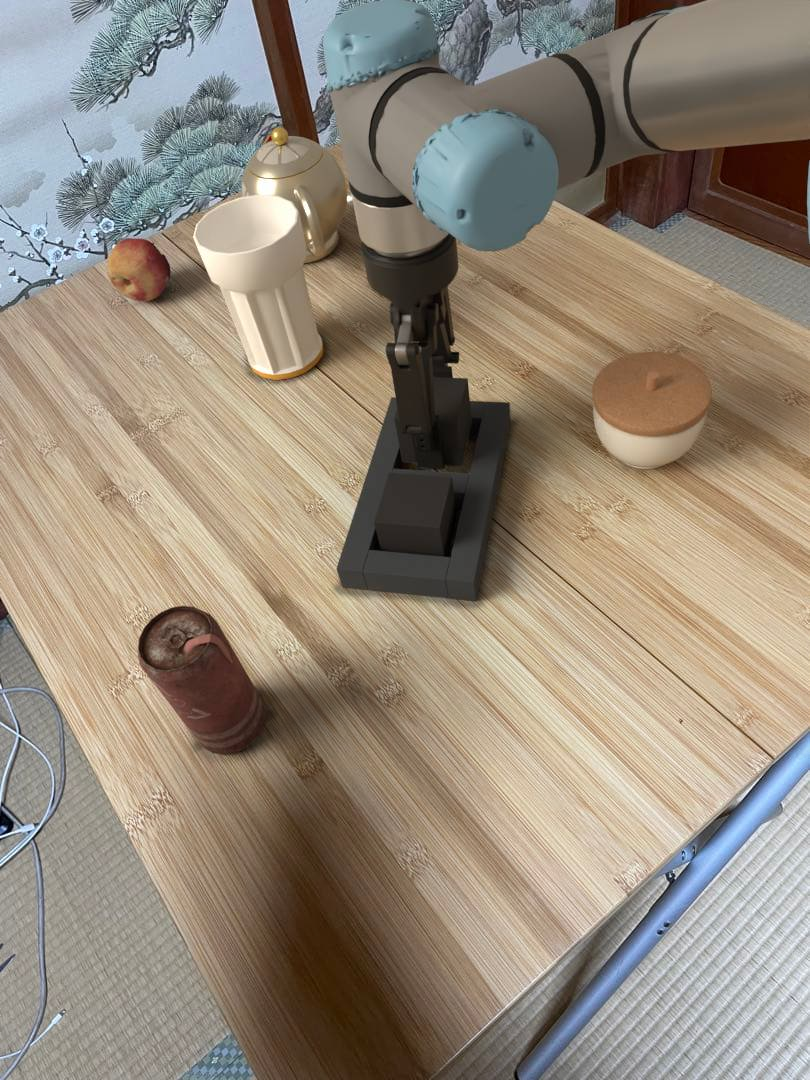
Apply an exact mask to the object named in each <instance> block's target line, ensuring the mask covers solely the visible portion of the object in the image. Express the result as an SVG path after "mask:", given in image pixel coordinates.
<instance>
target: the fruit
mask: <svg viewBox="0 0 810 1080" xmlns="http://www.w3.org/2000/svg"><path fill="white" fill-rule="evenodd" d="M106 275H107V277H108V279H109V281H110V283H111V285H112V286H113V287H114V288H115V289H116V291H118V292H119V293H120V294H121V295H123V296H124V297H126V298H127V299H130V300H132V301H135V302H149V301H153V300H155V299H156V298H158V297H159V296H161V295H162V294H163V292H164V289H166V286H167V283H168V282H169V281H170V279H171V276H172V274H171V265H170V263H169V260H168V258H167V257H166V256H165V254H162V252H161V251H160V250H159V249H158V248H157V246H156V245H155V242H152V241H150V240H147V239H146V238H132V237H131V238H124V239H122V240H120V241H118V242H117V243H116V244H115V246H114V247H113V248H112V250H111V251H110V253H109V255H108V258H107V264H106Z"/></svg>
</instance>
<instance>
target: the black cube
mask: <svg viewBox="0 0 810 1080" xmlns="http://www.w3.org/2000/svg"><path fill="white" fill-rule="evenodd" d="M433 384H434V405H435V415H439V420H440V428H441V435H442V443H443V450H444V457H445V466H448V467H449V466H450V467H451V466H452V467H463V464H464V459H465V455H466V451H467V447H468V444H469V443H468V442H469V439H470V438H469V434H470V430H471V425H472V418H471V408H470V401H471V399H470V387H469V379H468V378H467V377H453V378H446V377H433ZM398 420H399V414H398V408H397V410H396V414H395V417H394V421H395V426H396V432H397V437H398V442H399V447H400V452H401V457H402V462H404V463H405V464H416V459H415V453H414V448H413V442H412V437H411V434H402V432H401V429H400V424H399V423H398Z"/></svg>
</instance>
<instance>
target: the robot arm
mask: <svg viewBox="0 0 810 1080" xmlns="http://www.w3.org/2000/svg"><path fill="white" fill-rule="evenodd" d="M322 48H323V55H324V56H323V57H324V64H325V71H326V79H327V84H326V89H327V92H329V95H330V99H331V104H332V109H333V113H334V118H335V124H336V128H337V133H338V138H339V143H340V148H341V153H342V157H343V163H344V167H345V171H346V176H347V182H348V187H349V191H350V192H347V199H346V200H347V205H348V206H353V209H354V214H355V220H356V225H357V229H358V236H359V239H360V240H361V243H360V249H361V254H362V259H363V264H364V265H363V266H364V269H365V274H366V279H367V282H368V285H369V286H370V288H372V290H373V291H374V292H375V293H377V294H378V295H379V296H382V297H383V298H385V299H387V301H390V304H389V322H390V324H391V325H392V327H393V335H394V337H393V338H394V342H387V343H386V346H385V349H384V350H385V351H384V352H385V355H386V358H387V361H388V364H389V367H390V370H391V371H390V372H391V378H392V383H393V389H394V396H395V397H396V402H397V408H398V414H399V420H398V423H399V424H400V429H401V432H402V434H411V437H412V442H413V448H414V453H415V459H416V463H415V464H416V468H417V469H418V468H419V469H430V470H445V468H446V465H445V457H444V450H443V443H442V435H441V428H440V420H439V415H435V405H434V384H433V377H446V378H454V374H453V367H452V366H451V365H449V364H455V365H456V364H457V365H458V364H459V363H460V352H459V351H452V349H451V347H453V346H454V344H455V343H456V336H455V332H454V323H453V317H452V309H451V301H450V294H449V285H450V284H451V283H452V282H453V281H454V279H455V278H456V277H457V274H458V271H459V256H458V246H457V241H459V242H460V243H461V244H463V245H464V246H466V247H468V248H470V249H473V250H475V251H478V252H499V251H503V250H507V249H509V248H512V247H514V246H516V245H518V244H520V243H521V242H522V241H524V240H525V239H526V238H527V235H528V234H529V233H530V232H531V230H532V229H533V228H534V227H536V226H537V225H539V226H540V225H541V224H542V222H543V221H544V220H545V218H546V217H547V215H548V214H549V212H550V210H551V208H552V205H553V203H554V200H555V198H556V195H557V191H559V190H561V189H564V188H565V187H567V186H570V185H572V184H575V183H577V182H579V181H581V180H584V179H586V178H588V177H590V176H592V175H593V174H596V173H598V172H602V171H603V170H605V169H608V168H611V167H614V166H617V165H619V164H621V163H624V162H626V161H628V160H629V161H630V160H632V159H635V158H639V157H642V156H651V155H661V154H662V155H663V154H668V153H669V154H670V153H678V152H685V151H694V150H705V149H715V148H729V147H739V146H750V145H751V146H752V145H761V144H772V143H780V142H781V143H782V142H783V143H784V142H794V141H806V140H810V0H703V1H701V2H697V3H694V4H691V5H685V6H680V7H676V8H672V9H664V10H660V11H657V12H654V13H651V14H649V15H647V16H645V17H641V18H639V19H636V20H635V21H632V22H631V23H630V24H627V25H625V26H623V27H621V28H617V29H615V30H613V31H610V32H608V33H607V32H606V33H605V34H603V35H600V36H597V37H594V38H592V39H591V40H588V41H585V42H583V43H580V44H578V45H575V46H573V47H571V48H568V49H566V50H563V51H561V52H559V53H553V54H552V55H549V56H546V57H544V58H541V59H538V60H536V61H533V62H530V63H528V64H525V65H523V66H520V67H517V68H515V69H512V70H510V71H507V72H504V73H501V74H499V75H497V76H494V77H492V78H489V79H487V80H484V81H481V82H478V83H476V84H470V85H469V84H467V83H466V82H464V81H463V80H461V79H459V78H458V77H456V76H455V75H452V74H451V73H450V72H448V70H446V69H444V68H442V67H441V63H440V53H441V44H439V42H438V36H437V31H436V26H435V22H434V18H433V16H432V13H431V12H430V11H429V10H428V9H427V8H426V7H425V6H423V5H422V4H420V3H418V2H415V1H412V0H375V1H371V2H367V3H364V4H360V5H358V6H355V7H352V8H349V9H347V10H345V11H344V12H341V14H339V15H337V16H336V17H335V18H334V19H332V21H331V22H330V23H329V24H328V26H326V29H325V31H324V34H323V38H322ZM806 191H807V193H806V195H807V196H806V207H807V210H806V211H807V228H808V231H807V232H808V241H809V243H810V161H809V163H808V173H807V190H806Z"/></svg>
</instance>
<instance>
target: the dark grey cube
mask: <svg viewBox="0 0 810 1080" xmlns="http://www.w3.org/2000/svg"><path fill="white" fill-rule="evenodd" d="M458 520H459V519H458V512H457V511H456V504H455V496H454V489H453V481H452V477H442V476H427V475H413V474H399V473H389V474H388V478H387V481H386V484H385V488H384V491H383V494H382V497H381V501H380V504H379V507H378V511H377V514H376V517H375V521H374V524H375V528H376V532H377V536H378V540H379V543H380V551H387V552H398V553H409V554H420V555H431V556H442V557H450V553H451V551H452V545H453V542H454V537H455V533H456V532H455V531H456V529H457V528H456V527H457V524H458Z"/></svg>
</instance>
